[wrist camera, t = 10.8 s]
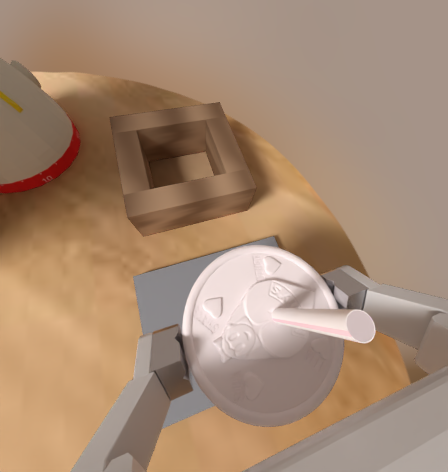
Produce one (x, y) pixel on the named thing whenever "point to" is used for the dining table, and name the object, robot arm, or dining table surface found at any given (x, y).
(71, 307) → the dining table surface
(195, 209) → the holder collar
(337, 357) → the smoothie
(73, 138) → the kitchen timer
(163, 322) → the rubber mat
